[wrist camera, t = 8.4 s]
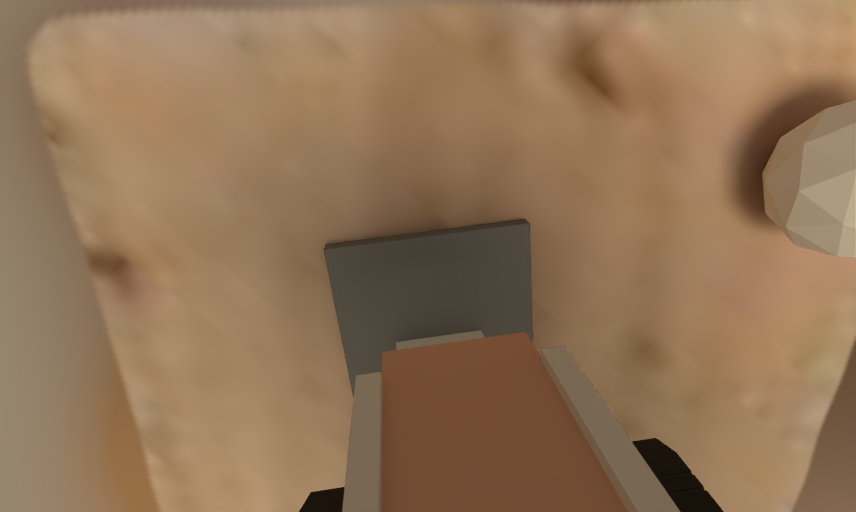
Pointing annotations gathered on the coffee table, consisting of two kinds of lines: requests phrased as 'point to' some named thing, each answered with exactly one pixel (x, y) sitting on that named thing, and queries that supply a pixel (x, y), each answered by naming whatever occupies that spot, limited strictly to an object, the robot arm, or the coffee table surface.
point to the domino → (483, 433)
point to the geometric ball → (816, 182)
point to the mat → (429, 288)
